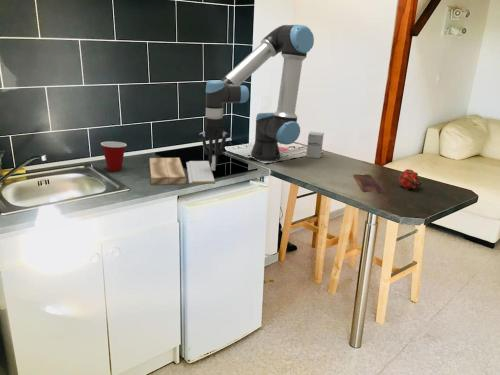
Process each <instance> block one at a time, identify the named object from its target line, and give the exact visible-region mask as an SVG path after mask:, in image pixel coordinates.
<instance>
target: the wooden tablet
mask: <svg viewBox="0 0 500 375" xmlns="http://www.w3.org/2000/svg"><path fill="white" fill-rule="evenodd" d="M353 179H354V180H355V182H356V183H357V185H358V186H359V188H360V190H361V191H362V192H363V193H366V192H371V193H374V192H376V193H375V194H380V193H385V194H386V193H387V192H386V190H385V189H384V187H383V186H382V185H381V184H380V183H379V182H378V181H377V180H376V179H375V177H373V176H372V175H371V174H369V173H368V174H365V175H361V174H359V175H357V174H353ZM372 191H373V192H372Z"/></svg>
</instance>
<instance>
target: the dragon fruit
mask: <svg viewBox="0 0 500 375" xmlns="http://www.w3.org/2000/svg"><path fill="white" fill-rule="evenodd" d="M398 180H399V181H398V184H399V186H402V187H403V189H404V190H410V188H411V189H415V188H416V187H419V186H421V185H422V182H421V181H420V176H419V174H418V172H415V171H414V170H413V169H409V168H408V169H404V170H403V171H401V173H400V174H399V177H398Z"/></svg>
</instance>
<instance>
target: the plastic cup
mask: <svg viewBox="0 0 500 375" xmlns="http://www.w3.org/2000/svg"><path fill="white" fill-rule="evenodd" d="M100 145H101V148H102V151H103V154H104V156H103V157H104V159H105V164H106V167H107V170H108V171H110V172H120V171H121V170H122V168H123V162H124V158H125V157H124V156H125V151H126V150H125V149H126V147H127V143H125V142H121V141H103V142H100Z"/></svg>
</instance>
